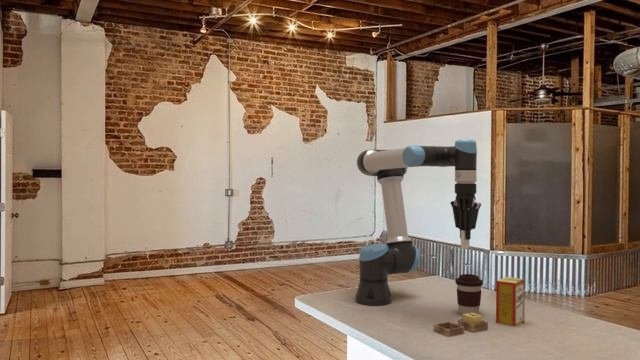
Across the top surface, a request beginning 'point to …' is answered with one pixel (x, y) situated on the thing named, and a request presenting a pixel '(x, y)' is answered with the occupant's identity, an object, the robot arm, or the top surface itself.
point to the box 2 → (473, 326)
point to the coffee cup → (468, 293)
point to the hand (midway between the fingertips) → (465, 248)
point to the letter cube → (472, 318)
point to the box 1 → (448, 329)
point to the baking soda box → (510, 301)
